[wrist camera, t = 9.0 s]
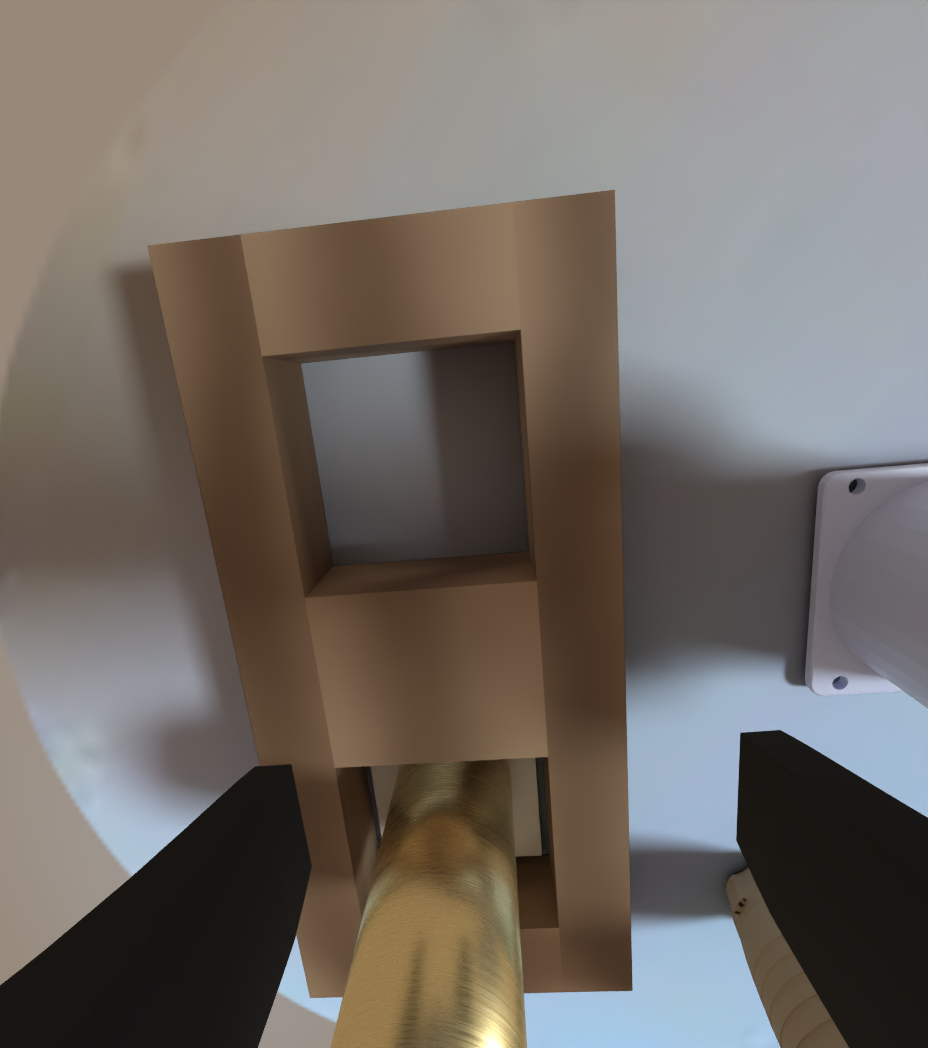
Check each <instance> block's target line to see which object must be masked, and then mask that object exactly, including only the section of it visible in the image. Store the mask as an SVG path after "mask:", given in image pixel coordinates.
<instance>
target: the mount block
mask: <svg viewBox="0 0 928 1048" xmlns="http://www.w3.org/2000/svg"><path fill="white" fill-rule="evenodd" d="M148 251H149V255H150V260H151V264H152V269H153V274H154V278H155V283H156V288H157V292H158V297H159V301H160V306H161V311H162V315H163V320H164V325H165V329H166V334H167V338H168V343H169V348H170V352H171V357H172V362H173V366H174V371H175V375H176V380H177V385H178V389H179V394H180V399H181V403H182V408H183V412H184V417H185V422H186V426H187V431H188V436H189V440H190V445H191V449H192V454H193V459H194V463H195V468H196V473H197V477H198V482H199V486H200V491H201V496H202V500H203V505H204V509H205V514H206V519H207V523H208V528H209V533H210V537H211V542H212V546H213V551H214V556H215V560H216V565H217V570H218V574H219V579H220V583H221V588H222V593H223V597H224V602H225V607H226V611H227V616H228V620H229V625H230V630H231V634H232V639H233V644H234V648H235V653H236V657H237V662H238V667H239V671H240V676H241V681H242V685H243V690H244V694H245V699H246V704H247V708H248V713H249V718H250V722H251V727H252V731H253V736H254V741H255V745H256V750H257V755H258V759H259V764H260V766H271V765H285V764H291V765H292V770H293V775H294V780H295V785H296V790H297V795H298V800H299V805H300V810H301V815H302V820H303V825H304V830H305V834H306V839H307V844H308V849H309V854H310V859H311V864H312V868H311V873H310V877H309V882H308V886H307V891H306V895H305V900H304V904H303V908H302V912H301V916H300V920H299V924H298V928H297V932H296V935H297V939H298V944H299V949H300V953H301V958H302V963H303V967H304V972H305V976H306V981H307V986H308V990H309V995H310V998H326V997H343V995H344V991H345V987H346V983H347V979H348V975H349V971H350V967H351V962H352V958H353V954H354V950H355V946H356V942H357V938H358V934H359V930H360V925H361V921H362V917H363V913H364V909H365V905H366V901H367V897H368V893H369V888H370V884H371V880H372V876H373V872H374V868H375V864H376V860H377V856H378V852H379V848H378V842H377V836H376V829H375V823H374V817H373V811H372V805H371V798H370V792H369V786H368V780H367V773H366V767H365V766H370V767H371V773H372V780H373V786H374V792H375V799H376V805H377V811H378V818H379V824H380V830H381V837H382V835H383V831H384V827H385V823H386V819H387V815H388V810H389V806H390V802H391V798H392V794H393V790H394V786H395V782H396V778H397V773H398V769H399V765H401V764H420V763H440V762H459V761H479V760H498V759H506V761H507V763H508V766H509V769H510V774H511V788H512V805H513V822H514V839H515V855H516V872H517V889H518V906H519V923H520V940H521V957H522V974H523V991H524V993H549V992H594V991H632V951H631V905H630V860H629V815H628V770H627V725H626V680H625V634H624V589H623V544H622V499H621V454H620V408H619V363H618V318H617V273H616V228H615V190H609V191H601V192H593V193H584V194H576V195H568V196H559V197H551V198H543V199H534V200H526V201H518V202H509V203H501V204H493V205H484V206H476V207H468V208H459V209H451V210H443V211H434V212H426V213H417V214H409V215H401V216H392V217H384V218H376V219H367V220H359V221H351V222H342V223H334V224H326V225H317V226H309V227H301V228H292V229H284V230H276V231H267V232H259V233H251V234H242V235H234V236H225V237H217V238H209V239H200V240H192V241H184V242H175V243H167V244H159V245H150V246H148ZM513 341H515V351H516V366H517V381H518V396H519V411H520V426H521V441H522V456H523V471H524V486H525V501H526V516H527V531H528V546H529V551H527V552H514V553H500V554H487V555H474V556H461V557H448V558H435V559H422V560H409V561H396V562H383V563H370V564H357V565H344V566H333V562H332V556H331V549H330V543H329V537H328V531H327V525H326V518H325V512H324V506H323V500H322V493H321V487H320V481H319V475H318V468H317V462H316V456H315V450H314V444H313V437H312V431H311V425H310V419H309V412H308V406H307V400H306V394H305V388H304V381H303V375H302V369H301V363H309V362H318V361H328V360H338V359H348V358H357V357H367V356H377V355H387V354H396V353H406V352H416V351H426V350H435V349H445V348H455V347H464V346H474V345H484V344H494V343H503V342H513ZM537 757H543V771H544V786H545V801H546V816H547V831H548V846H549V855H542V848H541V833H540V819H539V805H538V791H537V777H536V763H535V758H537Z"/></svg>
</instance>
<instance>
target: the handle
mask: <svg viewBox="0 0 928 1048" xmlns="http://www.w3.org/2000/svg"><path fill="white" fill-rule="evenodd" d="M726 892H727V896H728V899H729V902H730V904H731V914H732V917H733V920H734V924H735V927H736V929H737V932H738V934H739V937H740V939H741V943H742V947H743V950H744V954H745V957H746V960H747V963H748V966H749V969H750V972H751V975H752V978H753V981H754V983H755V986H756V988H757V991H758V994H759V996H760V999H761V1001H762V1004H763V1006H764V1008H765V1011H766V1014H767V1016H768V1019H769V1021H770V1024H771V1026H772V1029H773V1031H774V1033H775V1036H776V1038H777V1040H778V1042H779V1045H780V1047H781V1048H849V1047H848V1045H847V1043H846V1042H845V1040H844V1038H843V1037H842V1035H841V1033H840V1032H839V1030H838V1028H837V1027H836V1025H835V1023H834V1022H833V1020H832V1018H831V1017H830V1015H829V1013H828V1012H827V1010H826V1008H825V1006H824V1005H823V1003H822V1001H821V1000H820V998H819V996H818V995H817V993H816V991H815V990H814V988H813V986H812V985H811V983H810V981H809V980H808V978H807V976H806V974H805V973H804V971H803V969H802V968H801V966H800V964H799V962H798V961H797V959H796V957H795V956H794V954H793V952H792V950H791V949H790V947H789V945H788V944H787V942H786V940H785V939H784V937H783V935H782V933H781V932H780V930H779V928H778V926H777V925H776V923H775V921H774V919H773V918H772V916H771V914H770V912H769V910H768V908H767V906H766V904H765V902H764V900H763V898H762V895H761V893H760V891H759V889H758V887H757V885H756V883H755V881H754V879H753V876H752V874H751V872H750V870H749V867H748V868H747V869H746V870H744V871H742V872H740V873H738V874H733V875H731V876H730V878H729V879H728V882H727V884H726Z"/></svg>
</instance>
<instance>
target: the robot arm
mask: <svg viewBox="0 0 928 1048" xmlns="http://www.w3.org/2000/svg"><path fill="white" fill-rule="evenodd" d="M854 479H856V480H857V486H856V488H855V489H854V490H853V491H852V492H849V488H848V487H849V484H850V482H852V481H853V480H854ZM839 676H841V677H840V680H839V681H838V682H836V683H833V680H834V679H835V678H836V677H839ZM832 683H833V684H832ZM805 684H806V686H807V687H808V688H809V689H810V690H811V691H812V692H813V693H815V694H817V695H822V696H827V695H845V694H863V693H880V692H898V691H904V692H905V693H907V694H908V695H910V696H911V697H912V698H914V699H915V700H917V701H918V702H920V703H921V704H922V705H924V706H925V707H927V708H928V463H924V464H912V465H900V466H888V467H876V468H864V469H852V470H840V471H833V472H829V473H827V474H826V475H824V476H823V477H822V479H821V480H820V481H819V485H818V493H817V507H816V522H815V537H814V551H813V566H812V580H811V595H810V610H809V624H808V639H807V653H806V668H805ZM736 841H737V843H738V845H739V847H740V849H741V852H742V854H743V856H744V858H745V861H746V863H747V865H748V867H749V870H750V872H751V874H752V876H753V879H754V881H755V883H756V885H757V887H758V889H759V891H760V893H761V895H762V898H763V900H764V902H765V904H766V906H767V908H768V910H769V912H770V914H771V916H772V918H773V919H774V921H775V923H776V925H777V926H778V928H779V930H780V932H781V933H782V935H783V937H784V939H785V940H786V942H787V944H788V945H789V947H790V949H791V950H792V952H793V954H794V956H795V957H796V959H797V961H798V962H799V964H800V966H801V968H802V969H803V971H804V973H805V974H806V976H807V978H808V980H809V981H810V983H811V985H812V986H813V988H814V990H815V991H816V993H817V995H818V996H819V998H820V1000H821V1001H822V1003H823V1005H824V1006H825V1008H826V1010H827V1012H828V1013H829V1015H830V1017H831V1018H832V1020H833V1022H834V1023H835V1025H836V1027H837V1028H838V1030H839V1032H840V1033H841V1035H842V1037H843V1038H844V1040H845V1042H846V1043H847V1045H848V1047H849V1048H928V818H927V817H926V816H924V815H922V814H920V813H919V812H917V811H915V810H914V809H912V808H910V807H909V806H907V805H905V804H904V803H902V802H900V801H899V800H897V799H895V798H894V797H892V796H890V795H889V794H887V793H885V792H884V791H882V790H880V789H879V788H877V787H875V786H874V785H872V784H871V783H869V782H867V781H866V780H864V779H862V778H861V777H859V776H857V775H856V774H854V773H852V772H851V771H849V770H847V769H846V768H844V767H843V766H841V765H839V764H838V763H836V762H834V761H833V760H831V759H829V758H828V757H826V756H824V755H823V754H821V753H819V752H818V751H816V750H814V749H813V748H811V747H809V746H808V745H806V744H804V743H802V742H801V741H799V740H797V739H795V738H794V737H792V736H790V735H788V734H786V733H785V732H783V731H781V730H775V731H761V732H746V733H741V734H740V760H739V786H738V812H737V839H736ZM311 868H312V864H311V859H310V854H309V849H308V844H307V839H306V834H305V830H304V825H303V820H302V815H301V810H300V805H299V800H298V795H297V790H296V785H295V780H294V775H293V770H292V765H291V764H285V765H271V766H257V767H254V768H253V769H252V770H250V771H249V772H248V773H247V774H245V775H244V776H243V777H242V778H241V779H240V780H238V781H237V782H236V783H235V784H234V785H233V786H232V787H231V788H229V789H228V790H227V791H226V792H225V793H224V794H223V795H222V796H221V797H220V798H218V799H217V800H216V801H215V802H214V803H213V804H212V805H211V806H210V807H209V808H207V809H206V810H205V811H204V812H203V813H202V814H201V815H200V816H199V817H198V818H197V819H195V820H194V821H193V822H192V823H191V824H190V825H189V826H188V827H187V828H186V829H184V830H183V831H182V832H181V833H180V834H179V835H178V836H177V837H176V838H174V839H173V840H172V841H171V842H170V843H169V844H168V845H167V846H166V847H164V848H163V849H162V850H161V851H160V852H159V853H158V854H157V855H156V856H154V857H153V858H152V859H151V860H150V861H149V862H148V863H147V864H145V865H144V866H143V867H142V868H141V869H140V870H139V871H138V872H137V873H135V874H134V875H133V876H132V877H131V878H130V879H129V880H127V881H126V882H125V883H124V884H123V885H122V886H120V887H119V888H118V889H117V890H116V891H114V892H113V893H112V894H111V895H110V896H108V898H106V899H105V900H104V901H103V902H102V903H100V904H99V905H98V906H97V907H95V908H94V909H93V910H92V911H91V912H90V913H88V914H87V915H86V916H85V917H84V918H82V919H81V920H80V921H79V922H78V923H77V924H75V925H74V926H73V927H72V928H71V929H69V930H68V931H67V932H66V933H65V934H63V935H62V936H61V937H60V938H59V939H58V940H56V941H55V942H54V943H53V944H52V945H50V946H49V947H48V948H47V949H46V950H45V951H43V952H42V953H41V954H39V955H38V956H37V957H36V958H34V959H33V960H32V961H31V962H29V963H28V964H27V965H26V966H24V967H23V968H22V969H21V970H19V971H18V972H17V973H15V974H14V975H13V976H12V977H10V978H9V979H8V980H7V981H5V982H4V983H3V984H2V985H0V1048H258V1045H259V1042H260V1039H261V1036H262V1034H263V1031H264V1028H265V1025H266V1022H267V1019H268V1016H269V1013H270V1011H271V1008H272V1005H273V1002H274V999H275V996H276V993H277V991H278V988H279V985H280V982H281V979H282V976H283V973H284V970H285V967H286V964H287V961H288V958H289V955H290V952H291V949H292V946H293V943H294V940H295V936H296V932H297V928H298V924H299V920H300V916H301V912H302V908H303V904H304V900H305V895H306V891H307V886H308V882H309V877H310V873H311Z"/></svg>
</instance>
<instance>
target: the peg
mask: <svg viewBox="0 0 928 1048" xmlns="http://www.w3.org/2000/svg"><path fill="white" fill-rule="evenodd" d="M331 1048H527V1041H526V1024H525V1008H524V991H523V974H522V957H521V940H520V923H519V906H518V889H517V872H516V855H515V839H514V822H513V805H512V788H511V774H510V769H509V766H508V763H507V761H506V759H498V760H479V761H459V762H440V763H420V764H401V765H399V769H398V773H397V778H396V782H395V786H394V790H393V794H392V798H391V802H390V806H389V810H388V815H387V819H386V823H385V827H384V831H383V835H382V839H381V843H380V847H379V852H378V856H377V860H376V864H375V868H374V872H373V876H372V880H371V884H370V888H369V893H368V897H367V901H366V905H365V909H364V913H363V917H362V921H361V925H360V930H359V934H358V938H357V942H356V946H355V950H354V954H353V958H352V962H351V967H350V971H349V975H348V979H347V983H346V987H345V991H344V995H343V999H342V1003H341V1008H340V1012H339V1016H338V1020H337V1024H336V1028H335V1032H334V1036H333V1041H332V1045H331Z"/></svg>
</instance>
